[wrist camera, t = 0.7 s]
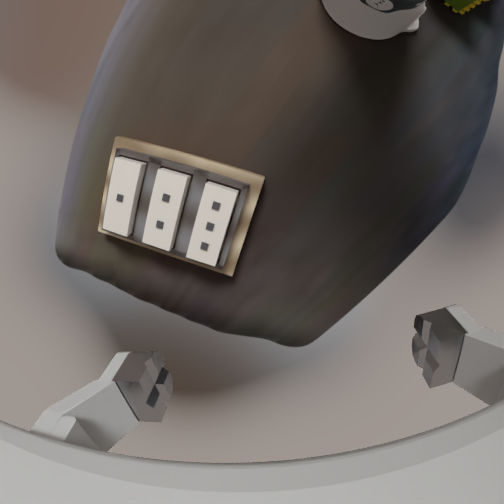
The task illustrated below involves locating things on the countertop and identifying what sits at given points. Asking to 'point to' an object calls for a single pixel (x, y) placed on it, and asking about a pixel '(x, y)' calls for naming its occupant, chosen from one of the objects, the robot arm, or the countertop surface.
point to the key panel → (205, 165)
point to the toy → (462, 5)
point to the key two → (165, 208)
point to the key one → (123, 195)
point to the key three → (211, 223)
